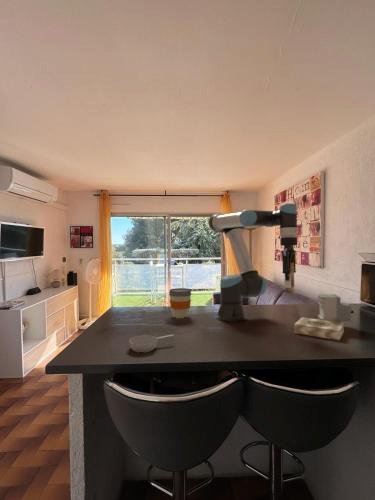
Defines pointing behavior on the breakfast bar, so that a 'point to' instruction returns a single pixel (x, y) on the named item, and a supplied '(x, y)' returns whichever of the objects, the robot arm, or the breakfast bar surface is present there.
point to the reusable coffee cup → (180, 302)
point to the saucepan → (145, 343)
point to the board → (319, 328)
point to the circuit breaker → (333, 308)
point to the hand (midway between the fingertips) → (289, 286)
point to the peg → (291, 290)
